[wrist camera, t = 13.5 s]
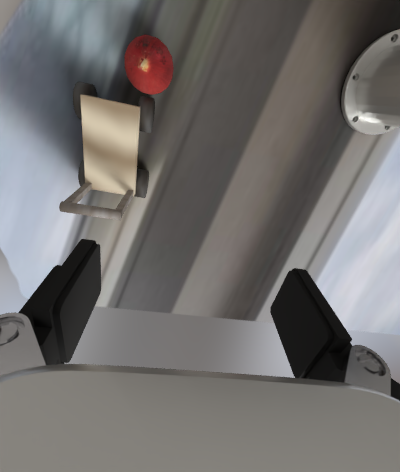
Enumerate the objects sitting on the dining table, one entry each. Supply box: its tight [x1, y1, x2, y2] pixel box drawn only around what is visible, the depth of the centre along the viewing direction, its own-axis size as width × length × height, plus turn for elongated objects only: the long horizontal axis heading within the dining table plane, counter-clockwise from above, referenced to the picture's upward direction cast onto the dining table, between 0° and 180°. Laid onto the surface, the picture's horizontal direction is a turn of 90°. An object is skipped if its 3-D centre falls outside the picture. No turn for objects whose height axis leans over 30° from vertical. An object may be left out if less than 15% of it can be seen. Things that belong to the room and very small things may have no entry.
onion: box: [125, 35, 173, 95], centre depth 28 cm, size 6×6×8 cm
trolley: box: [59, 82, 155, 220], centre depth 31 cm, size 14×10×14 cm, turn 169°
